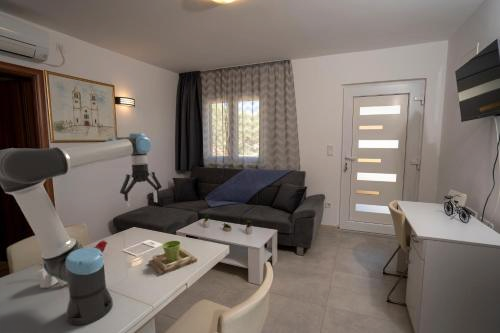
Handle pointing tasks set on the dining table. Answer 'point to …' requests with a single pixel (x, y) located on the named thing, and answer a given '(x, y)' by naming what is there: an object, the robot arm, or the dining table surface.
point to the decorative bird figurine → (101, 246)
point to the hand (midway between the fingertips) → (142, 204)
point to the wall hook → (48, 279)
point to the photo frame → (148, 242)
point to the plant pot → (171, 250)
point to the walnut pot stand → (164, 267)
